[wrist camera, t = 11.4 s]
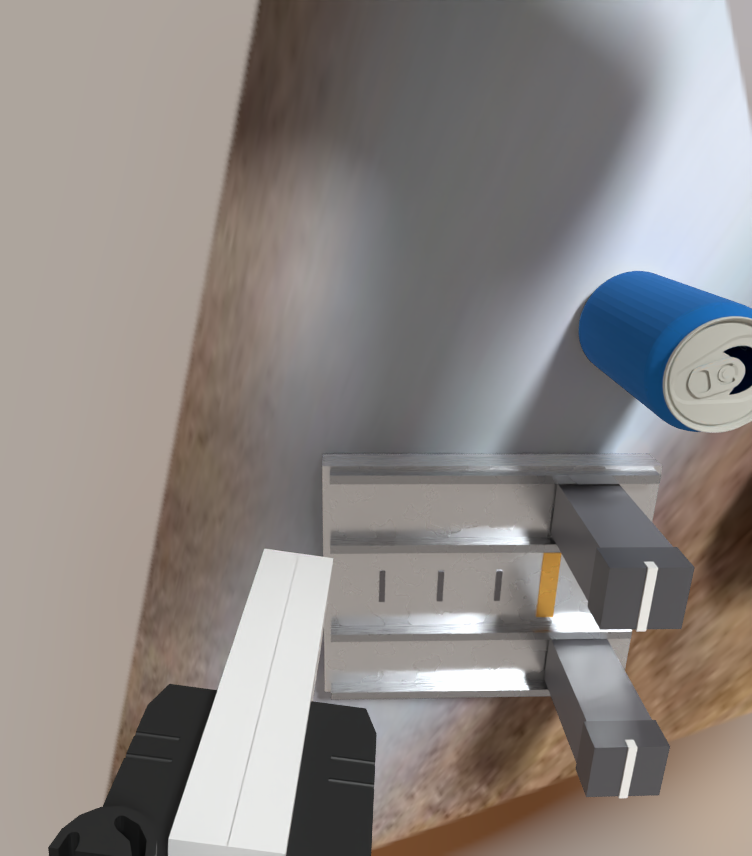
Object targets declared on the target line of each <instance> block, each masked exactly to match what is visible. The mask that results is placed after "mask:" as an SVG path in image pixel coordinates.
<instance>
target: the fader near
mask: <svg viewBox="0 0 752 856" xmlns="http://www.w3.org/2000/svg"><path fill="white" fill-rule="evenodd" d="M551 536H552V537H553V539H554V541H555V543H556V545H557V546H558V548H559V550H560V552H561V554H562V555H563V557H564V559H565V561H566V563H567V564H568V566H569V568H570V570H571V572H572V574H573V575H574V577H575V579H576V581H577V583H578V584H579V586H580V588H581V590H582V592H583V593H584V595H585V597H586V599H587V601H588V609H589V611H590V613H591V614H592V616H593V618H594V620H595V622H596V623H597V625H598V627H599V629H600V630H621V629H636V631H646V629H681V628H682V623H683V618H684V614H685V609H686V604H687V600H688V595H689V591H690V586H691V581H692V577H693V572H694V566H693V565H692V564H691V563H690V562H689V561H688V559H687V558H686V557H685V556H684V555H683V554H682V552H681V551H680V550H679V549H678V548H677V547H673V546H672V545H671V544H670V543H669V542H668V540H667V539H666V538H665V537H664V536H663V535H662V533H661V532H660V531H659V530H658V529H657V528H656V526H655V525H654V524H653V523H652V522H651V521H650V519H649V518H648V517H647V516H646V515H645V514H644V512H643V511H642V510H641V509H640V508H639V507H638V505H637V504H636V503H635V502H634V501H633V500H632V498H631V497H630V496H629V495H628V494H627V493H626V491H625V490H624V489H623V488H622V487H621V486H620V484H557V489H556V497H555V505H554V513H553V521H552V529H551Z"/></svg>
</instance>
